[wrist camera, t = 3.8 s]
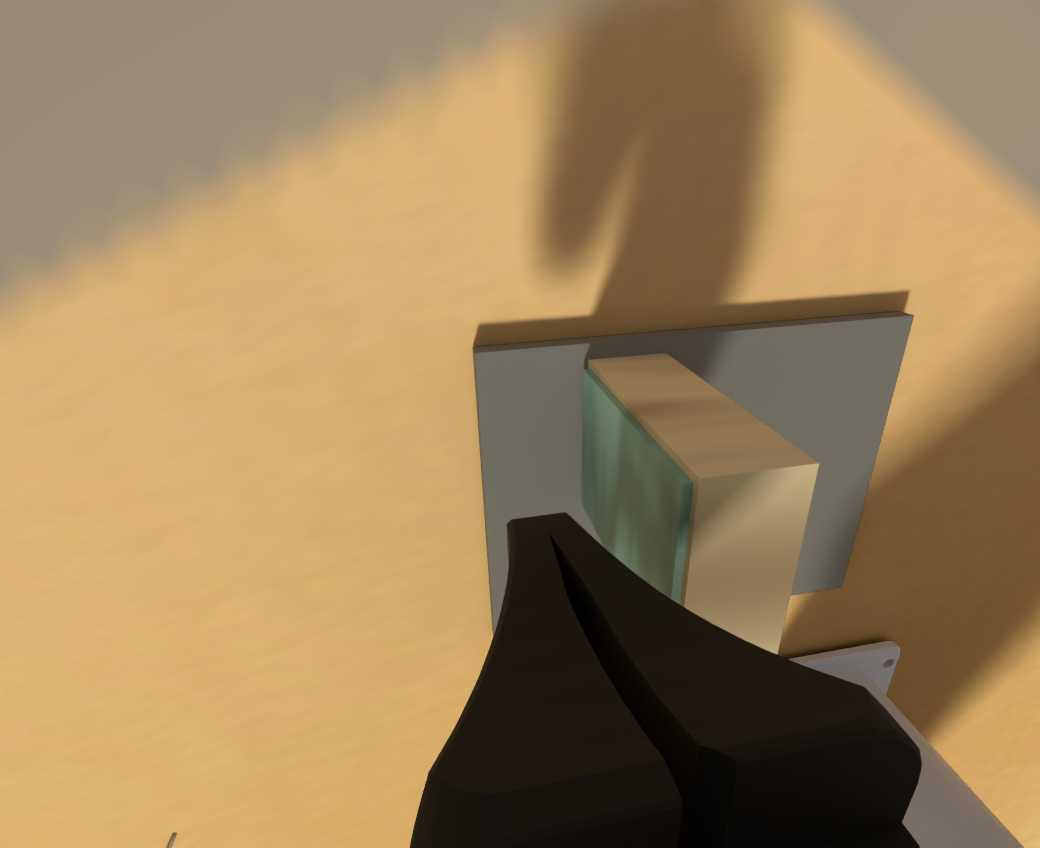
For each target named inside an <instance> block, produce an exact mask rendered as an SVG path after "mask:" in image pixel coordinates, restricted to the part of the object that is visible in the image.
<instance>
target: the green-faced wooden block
mask: <svg viewBox="0 0 1040 848" xmlns="http://www.w3.org/2000/svg"><path fill="white" fill-rule="evenodd" d="M818 467H819V463H818V462H817V461H816V460H814V459H813V458H811V457H810V456H809V455H807V454H806V453H804V452H803V451H802V450H800V449H799V448H797V447H796V446H795V445H793V444H792V443H790V442H789V441H788V440H786V439H785V438H783V437H782V436H781V435H779V434H778V433H777V432H775V431H774V430H772V429H771V428H770V427H768V426H767V425H765V424H764V423H763V422H761V421H760V420H758V419H757V418H756V417H754V416H753V415H751V414H750V413H749V412H747V411H746V410H744V409H743V408H742V407H740V406H739V405H738V404H736V403H735V402H733V401H732V400H731V399H729V398H728V397H726V396H725V395H724V394H722V393H721V392H719V391H718V390H717V389H715V388H714V387H712V386H711V385H710V384H708V383H707V382H705V381H704V380H703V379H701V378H700V377H699V376H697V375H696V374H694V373H693V372H692V371H690V370H689V369H687V368H686V367H685V366H683V365H682V364H680V363H679V362H678V361H676V360H675V359H673V358H672V357H671V356H669V355H668V354H666V353H659V354H648V355H637V356H626V357H615V358H604V359H593V360H588V369H583V429H582V491H581V504H582V506H583V508H584V510H585V511H586V513H587V515H588V517H589V519H590V521H591V523H592V525H593V527H594V529H595V531H596V533H597V535H598V537H599V539H600V541H601V542H602V544H603V546H604V548H605V549H607V550H608V551H609V552H610V553H611V554H612V555H614V556H615V557H616V558H617V559H618V560H620V561H621V562H622V563H623V564H624V565H625V566H627V567H628V568H629V569H630V570H632V571H633V572H634V573H635V574H637V575H638V576H639V577H641V578H642V579H643V580H645V581H646V582H647V583H649V584H650V585H651V586H653V587H654V588H655V589H657V590H658V591H660V592H661V593H663V594H664V595H666V596H667V597H669V598H670V599H672V600H673V601H675V602H677V603H678V604H680V605H682V606H683V607H685V608H686V609H688V610H690V611H691V612H693V613H694V614H696V615H698V616H700V617H701V618H703V619H705V620H707V621H709V622H710V623H712V624H714V625H716V626H718V627H720V628H722V629H724V630H726V631H728V632H730V633H731V634H733V635H735V636H737V637H739V638H741V639H743V640H745V641H748V642H750V643H752V644H754V645H756V646H758V647H761V648H763V649H765V650H767V651H770V652H772V653H774V654H778V650H779V645H780V641H781V636H782V631H783V627H784V622H785V618H786V613H787V609H788V604H789V600H790V595H791V590H792V586H793V581H794V577H795V572H796V568H797V563H798V558H799V554H800V549H801V545H802V540H803V536H804V531H805V527H806V522H807V517H808V513H809V508H810V504H811V499H812V495H813V490H814V485H815V481H816V476H817V472H818Z"/></svg>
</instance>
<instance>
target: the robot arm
mask: <svg viewBox="0 0 1040 848" xmlns="http://www.w3.org/2000/svg"><path fill="white" fill-rule="evenodd" d="M506 527H507V545H508V563H509V569H508V577H507V584H506V589H505V594H504V598H503V603H502V608H501V612H500V616H499V620H498V623H497V627H496V630H495V633H494V637H493V640H492V643H491V646H490V649H489V652H488V654H487V657H486V660H485V662H484V665H483V668H482V670H481V673H480V675H479V678H478V680H477V682H476V685H475V687H474V689H473V691H472V693H471V695H470V697H469V700H468V702H467V704H466V706H465V708H464V710H463V712H462V714H461V716H460V718H459V720H458V722H457V724H456V726H455V728H454V730H453V732H452V733H451V735H450V737H449V739H448V740H447V742H446V744H445V745H444V747H443V749H442V751H441V752H440V754H439V756H438V757H437V759H436V761H435V762H434V764H433V766H432V768H431V769H430V771H429V773H428V777H427V781H426V784H425V788H424V791H423V795H422V798H421V802H420V805H419V809H418V813H417V817H416V821H415V825H414V829H413V834H412V839H411V844H410V848H1024V847H1023V846H1022V845H1021V844H1020V843H1019V842H1018V840H1017V839H1016V838H1015V837H1014V836H1013V835H1012V834H1011V833H1010V832H1009V830H1008V829H1007V828H1006V827H1005V826H1004V825H1003V824H1002V823H1001V822H1000V821H999V819H998V818H997V817H996V816H995V815H994V814H993V813H992V812H991V811H990V810H989V808H988V807H987V806H986V805H985V804H984V803H983V802H982V801H981V800H980V798H979V797H978V796H977V795H976V794H975V793H974V792H973V791H972V790H971V789H970V787H969V786H968V785H967V784H966V783H965V782H964V781H963V780H962V779H961V778H960V776H959V775H958V774H957V773H956V772H955V771H954V770H953V769H952V768H951V766H950V765H949V764H948V763H947V762H946V761H945V760H944V759H943V758H942V757H941V755H940V754H939V753H938V752H937V751H936V750H935V749H934V748H933V747H932V746H931V744H930V743H929V742H928V741H927V740H926V739H925V738H924V737H923V736H922V734H921V733H920V732H919V731H918V730H917V729H916V728H915V727H914V726H913V725H912V723H911V722H910V721H909V720H908V719H907V718H906V717H905V716H904V715H903V714H902V712H901V711H900V710H899V709H898V708H897V707H896V706H895V705H894V704H893V702H892V701H891V700H890V699H889V698H888V697H887V696H886V694H887V691H888V688H889V685H890V682H891V679H892V676H893V673H894V670H895V668H896V665H897V662H898V659H899V656H900V652H901V649H900V647H899V646H898V645H897V644H896V643H895V642H893V641H884V642H878V643H873V644H867V645H862V646H856V647H851V648H845V649H840V650H834V651H829V652H823V653H818V654H812V655H807V656H802V657H796V658H791V659H786V658H784V657H782V656H779V655H777V654H774V653H772V652H770V651H767V650H765V649H763V648H761V647H758V646H756V645H754V644H752V643H750V642H748V641H745V640H743V639H741V638H739V637H737V636H735V635H733V634H731V633H730V632H728V631H726V630H724V629H722V628H720V627H718V626H716V625H714V624H712V623H710V622H709V621H707V620H705V619H703V618H701V617H700V616H698V615H696V614H694V613H693V612H691V611H690V610H688V609H686V608H685V607H683V606H682V605H680V604H678V603H677V602H675V601H673V600H672V599H670V598H669V597H667V596H666V595H664V594H663V593H661V592H660V591H658V590H657V589H655V588H654V587H653V586H651V585H650V584H649V583H647V582H646V581H645V580H643V579H642V578H641V577H639V576H638V575H637V574H635V573H634V572H633V571H632V570H630V569H629V568H628V567H627V566H625V565H624V564H623V563H622V562H621V561H620V560H618V559H617V558H616V557H615V556H614V555H612V554H611V553H610V552H609V551H608V550H607V549H605V548H604V547H603V546H602V545H601V544H600V543H599V542H598V541H597V540H595V539H594V538H593V537H592V536H591V535H590V534H589V533H588V532H587V531H586V530H585V529H584V528H583V527H582V526H580V525H579V524H578V523H577V522H576V521H575V520H574V519H573V518H572V517H571V516H570V515H569V514H567V513H566V512H563V513H555V514H548V515H540V516H533V517H525V518H518V519H511V520H510V521H509V522H508V523H507V524H506Z"/></svg>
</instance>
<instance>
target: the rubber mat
mask: <svg viewBox="0 0 1040 848" xmlns="http://www.w3.org/2000/svg"><path fill="white" fill-rule="evenodd" d="M913 317H914V315H911V314H907V313H904V312H900V311H895V312H884V313H872V314H860V315H848V316H836V317H824V318H812V319H800V320H788V321H776V322H765V323H753V324H741V325H729V326H717V327H705V328H693V329H681V330H669V331H657V332H646V333H634V334H622V335H610V336H598V337H586V338H574V339H562V340H550V341H538V342H527V343H515V344H503V345H491V346H479V347H473V358H474V372H475V387H476V401H477V415H478V429H479V443H480V458H481V472H482V486H483V500H484V514H485V529H486V543H487V557H488V571H489V585H490V600H491V614H492V628H493V636H494V633H495V630H496V627H497V623H498V620H499V616H500V612H501V608H502V603H503V598H504V594H505V589H506V584H507V577H508V569H509V563H508V545H507V527H506V524H507V523H508V522H509V521H510V520H511V519H518V518H525V517H533V516H540V515H548V514H555V513H563V512H566V513H567V514H569V515H570V516H571V517H572V518H573V519H574V520H575V521H576V522H577V523H578V524H579V525H580V526H582V527H583V528H584V529H585V530H586V531H587V532H588V533H589V534H590V535H591V536H592V537H593V538H594V539H595V540H597V541H598V542H599V543H600V544H601V545H602V546H603V544H602V542H601V541H600V539H599V537H598V535H597V533H596V531H595V529H594V527H593V525H592V523H591V521H590V519H589V517H588V515H587V513H586V511H585V510H584V508H583V506H582V504H581V491H582V429H583V369H588V360H593V359H604V358H615V357H626V356H637V355H648V354H659V353H666V354H668V355H669V356H671V357H672V358H673V359H675V360H676V361H678V362H679V363H680V364H682V365H683V366H685V367H686V368H687V369H689V370H690V371H692V372H693V373H694V374H696V375H697V376H699V377H700V378H701V379H703V380H704V381H705V382H707V383H708V384H710V385H711V386H712V387H714V388H715V389H717V390H718V391H719V392H721V393H722V394H724V395H725V396H726V397H728V398H729V399H731V400H732V401H733V402H735V403H736V404H738V405H739V406H740V407H742V408H743V409H744V410H746V411H747V412H749V413H750V414H751V415H753V416H754V417H756V418H757V419H758V420H760V421H761V422H763V423H764V424H765V425H767V426H768V427H770V428H771V429H772V430H774V431H775V432H777V433H778V434H779V435H781V436H782V437H783V438H785V439H786V440H788V441H789V442H790V443H792V444H793V445H795V446H796V447H797V448H799V449H800V450H802V451H803V452H804V453H806V454H807V455H809V456H810V457H811V458H813V459H814V460H816V461H817V462H818V463H819V467H818V472H817V476H816V481H815V485H814V490H813V495H812V499H811V504H810V508H809V513H808V517H807V522H806V527H805V531H804V536H803V540H802V545H801V549H800V554H799V558H798V563H797V568H796V572H795V577H794V581H793V586H792V590H791V595H790V596H792V595H798V594H804V593H810V592H816V591H822V590H828V589H834V588H840V587H842V584H843V580H844V576H845V573H846V569H847V565H848V561H849V558H850V554H851V550H852V546H853V543H854V539H855V535H856V531H857V528H858V524H859V520H860V516H861V513H862V509H863V505H864V501H865V498H866V494H867V490H868V486H869V483H870V479H871V475H872V471H873V468H874V464H875V460H876V456H877V452H878V449H879V445H880V441H881V437H882V434H883V430H884V426H885V422H886V419H887V415H888V411H889V407H890V404H891V400H892V396H893V392H894V389H895V385H896V381H897V377H898V374H899V370H900V366H901V362H902V359H903V355H904V351H905V347H906V344H907V340H908V336H909V332H910V329H911V325H912V321H913ZM603 547H604V546H603Z"/></svg>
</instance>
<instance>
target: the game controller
mask: <svg viewBox="0 0 1040 848" xmlns="http://www.w3.org/2000/svg"><path fill="white" fill-rule="evenodd" d="M176 834H177V833H173V836H172V839H171V842H170V844H169V847H168V848H172V845H173V842H174V840H175V837H176Z"/></svg>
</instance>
